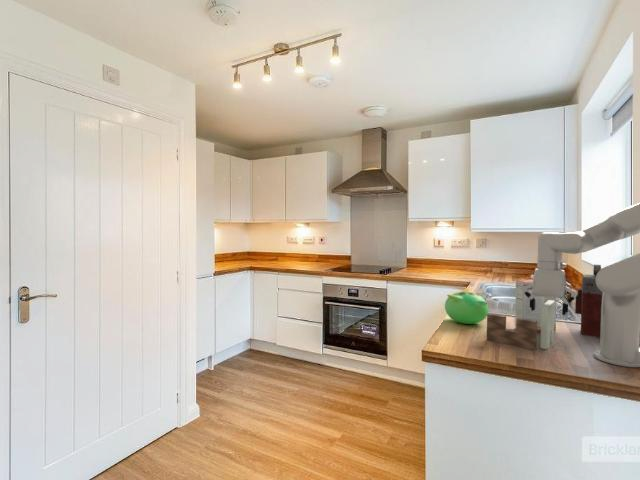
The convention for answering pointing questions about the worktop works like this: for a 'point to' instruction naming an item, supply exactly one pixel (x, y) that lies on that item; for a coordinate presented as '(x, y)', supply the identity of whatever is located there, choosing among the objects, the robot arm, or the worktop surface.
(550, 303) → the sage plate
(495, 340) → the walnut board
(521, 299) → the cracker box
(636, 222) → the robot arm
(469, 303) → the toy bird
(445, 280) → the worktop surface
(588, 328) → the dark red canister
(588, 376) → the worktop surface
